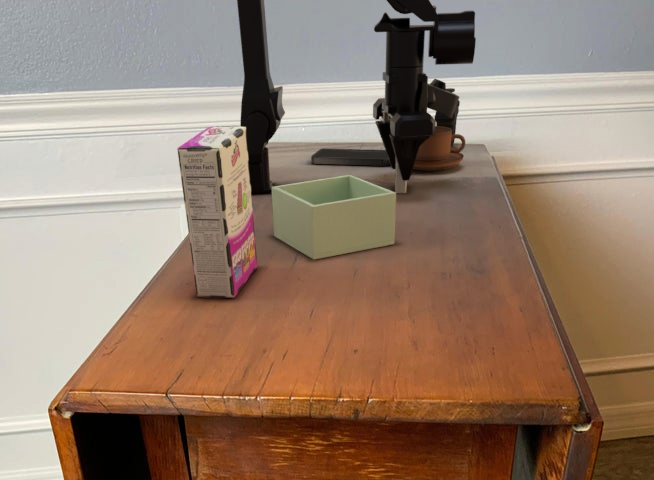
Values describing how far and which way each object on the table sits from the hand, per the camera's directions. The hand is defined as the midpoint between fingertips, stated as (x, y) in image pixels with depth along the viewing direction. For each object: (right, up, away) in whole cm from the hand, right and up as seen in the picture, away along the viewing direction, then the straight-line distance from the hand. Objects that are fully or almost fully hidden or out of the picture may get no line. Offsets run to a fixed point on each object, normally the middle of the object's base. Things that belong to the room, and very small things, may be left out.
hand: (400, 174), depth 129 cm
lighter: (0, -2, +1) cm, 2 cm away
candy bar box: (-25, -28, -33) cm, 50 cm away
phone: (-6, +11, +19) cm, 22 cm away
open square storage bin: (-12, -18, -21) cm, 30 cm away
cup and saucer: (+7, +6, +12) cm, 15 cm away
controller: (+12, +15, +25) cm, 31 cm away
